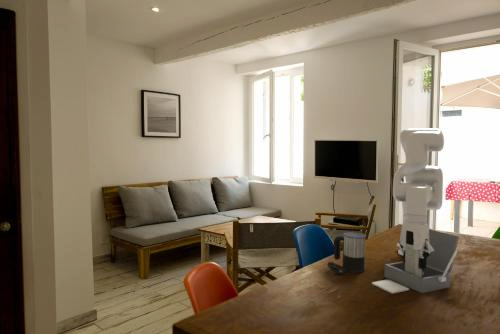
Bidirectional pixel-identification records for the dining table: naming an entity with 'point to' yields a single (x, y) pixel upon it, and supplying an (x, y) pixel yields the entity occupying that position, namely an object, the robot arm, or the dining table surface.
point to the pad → (390, 286)
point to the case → (429, 265)
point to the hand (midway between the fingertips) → (414, 264)
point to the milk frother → (349, 253)
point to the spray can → (412, 257)
